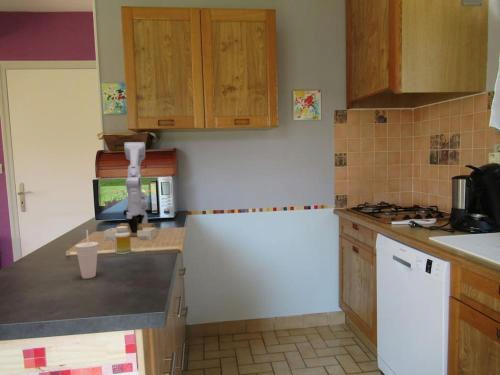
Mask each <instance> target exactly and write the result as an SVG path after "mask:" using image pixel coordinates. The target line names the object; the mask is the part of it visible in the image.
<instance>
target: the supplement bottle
mask: <svg viewBox="0 0 500 375" xmlns="http://www.w3.org/2000/svg"><path fill="white" fill-rule="evenodd" d="M115 228H116V231H117V233H116V234H115V240H114V249H115V254H116V255H126V254H129V253H131V252H132V250H131V236H130V233H129V232H127V230H128V227H127V226H119V227H117V226H116V227H115Z"/></svg>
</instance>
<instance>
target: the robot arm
mask: <svg viewBox="0 0 500 375" xmlns="http://www.w3.org/2000/svg"><path fill="white" fill-rule="evenodd" d="M123 145H124V146H123V148H124V154H125V157H126V160H128V161H129V165H128V166H127V174H126V175H127V178H125V187H126V194H127V196H126V210H127V211H126V212H125V213H126V218H125V219H126V222H127V224H129V226H130V229H131V232H132V233H137V225H138V223H149V222H148V221H149V220H148V213H147V212H146V211H147V210H148V206H149V204H148V196H147V194H146V193H144V192H142V177H141V175H142V174H141V173H142V172H141V164H142V161H144V160H145V159H146V143H145V141H142V142H141V141H140V142H139V141H135V142H134V141H129V142H128V141H125V142H124V144H123Z"/></svg>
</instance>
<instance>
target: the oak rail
mask: <svg viewBox="0 0 500 375" xmlns="http://www.w3.org/2000/svg"><path fill="white" fill-rule="evenodd" d="M119 226H127V227H128V230H127V232H129V233H130V237H138V236H137V233H132V232H131V229H130V226H129V224H128V223H118V224H117V225H116V227H119ZM143 228H155V222H152V223H151V222H150V223H149V222H148V223H138V225H137V231H138V230H143Z"/></svg>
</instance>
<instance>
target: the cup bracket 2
mask: <svg viewBox="0 0 500 375" xmlns="http://www.w3.org/2000/svg"><path fill="white" fill-rule="evenodd" d="M136 237H137V240H138V239H141V240H140V241H152V240H153V239H154V238H156V237H157V227H154V228H143V230H138V231H137V236H136ZM152 238H153V239H152ZM142 239H143V240H142Z"/></svg>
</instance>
